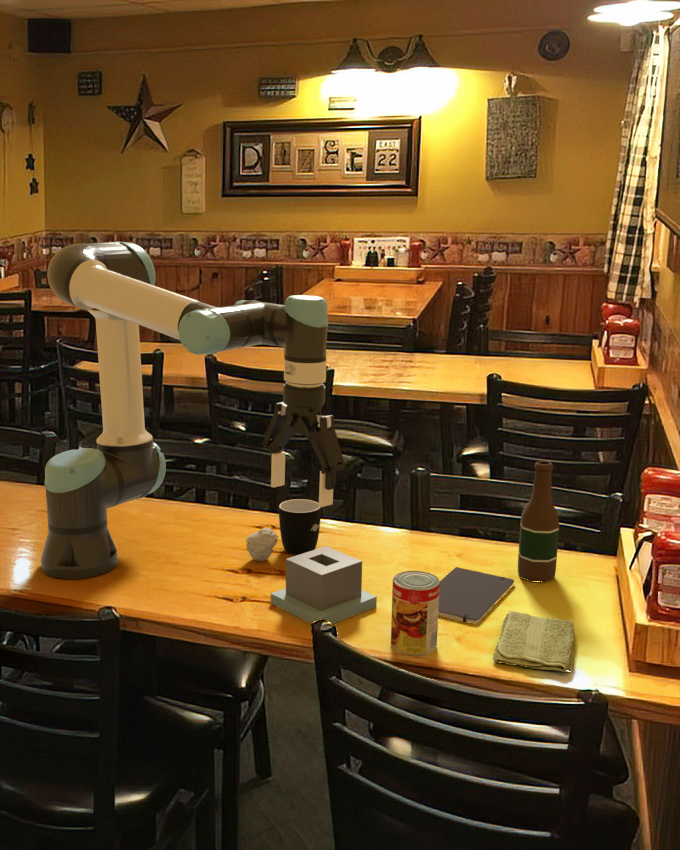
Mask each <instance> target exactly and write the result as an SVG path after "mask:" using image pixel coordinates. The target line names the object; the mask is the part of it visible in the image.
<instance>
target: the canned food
mask: <svg viewBox="0 0 680 850" xmlns="http://www.w3.org/2000/svg"><path fill="white" fill-rule="evenodd" d="M440 581H441V580H440V579H439V577H438V576H437V575H436V574H434V573H430V572H428V571H423V570H405V571H401V572H398V573H396V574H395V575H394V576H393V577H392V591H391V592H392V593H391V594H392V595H391V621H390V622H391V624H390V626H391V627H390V645H391V647H392V649H393V650H394V651H396V652H398V653H400V654H403V655H406V656H417V657H418V655H420V656H424V655H425V654H426V655H429V654H431V653H433V652H434V651H435V650H436V649H437V647H438V632H439V631H438V628H439V626H438V625H439V616H438V609H439V586H440ZM436 646H437V647H436ZM435 648H436V649H435ZM433 650H434V651H433ZM432 651H433V652H432ZM430 652H431V653H430ZM428 653H429V654H428Z"/></svg>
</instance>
